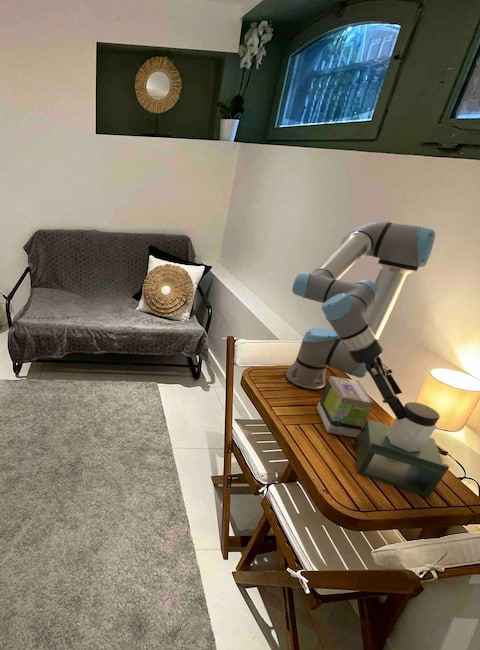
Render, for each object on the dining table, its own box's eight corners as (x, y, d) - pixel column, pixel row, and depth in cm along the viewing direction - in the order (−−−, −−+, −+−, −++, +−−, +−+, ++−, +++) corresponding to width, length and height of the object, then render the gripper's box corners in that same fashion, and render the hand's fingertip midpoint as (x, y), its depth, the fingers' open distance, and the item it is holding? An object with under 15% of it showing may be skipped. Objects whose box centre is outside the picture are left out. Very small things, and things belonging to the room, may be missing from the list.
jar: (382, 440, 111) (400, 407, 105) (390, 429, 116) (408, 397, 110) (417, 457, 106) (438, 423, 100) (424, 445, 111) (444, 412, 105)
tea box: (357, 438, 128) (375, 403, 120) (326, 433, 129) (342, 397, 122) (343, 413, 140) (359, 379, 133) (315, 408, 142) (329, 374, 134)
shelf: (355, 442, 125) (369, 414, 120) (418, 463, 119) (436, 434, 113) (357, 473, 113) (373, 443, 107) (428, 497, 106) (449, 467, 101)
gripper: (346, 335, 117) (381, 389, 119) (349, 369, 97) (390, 433, 100) (372, 323, 113) (408, 380, 115) (381, 356, 93) (424, 424, 95)
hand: (400, 405), depth 107 cm, fingers open, 13 cm apart
